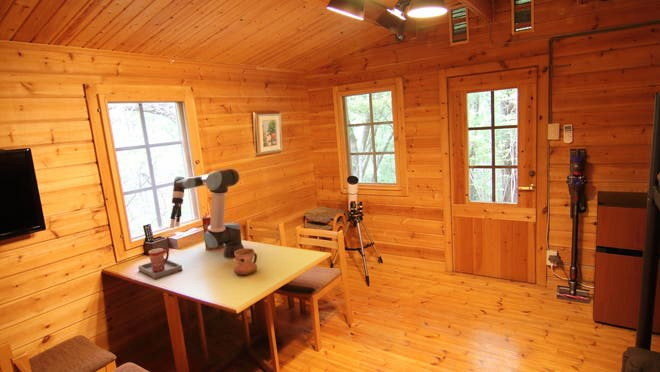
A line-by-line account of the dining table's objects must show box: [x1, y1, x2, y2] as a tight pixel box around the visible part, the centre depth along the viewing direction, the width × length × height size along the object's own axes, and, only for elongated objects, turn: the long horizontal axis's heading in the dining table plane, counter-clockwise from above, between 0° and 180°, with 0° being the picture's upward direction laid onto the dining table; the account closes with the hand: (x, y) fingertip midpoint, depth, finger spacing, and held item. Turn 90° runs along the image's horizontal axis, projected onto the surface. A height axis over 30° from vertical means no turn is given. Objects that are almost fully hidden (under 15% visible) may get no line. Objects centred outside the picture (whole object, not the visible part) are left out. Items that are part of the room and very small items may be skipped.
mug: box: [148, 247, 170, 272], centre depth 262 cm, size 13×9×14 cm
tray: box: [138, 257, 183, 280], centre depth 263 cm, size 24×18×4 cm
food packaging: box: [201, 214, 225, 251], centre depth 303 cm, size 13×9×25 cm
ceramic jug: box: [232, 247, 258, 276], centre depth 251 cm, size 18×14×14 cm
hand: (174, 227), depth 284 cm, fingers open, 13 cm apart
